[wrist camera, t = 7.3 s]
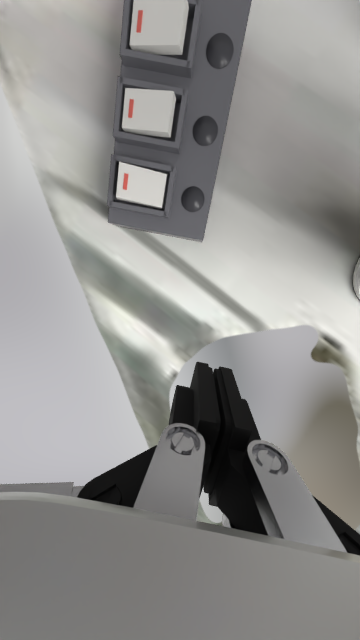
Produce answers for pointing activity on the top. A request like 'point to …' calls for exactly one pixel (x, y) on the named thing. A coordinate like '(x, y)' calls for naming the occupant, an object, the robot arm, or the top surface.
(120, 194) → the rocker
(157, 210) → the rocker switch panel
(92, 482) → the robot arm
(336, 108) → the top surface
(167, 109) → the middle rocker
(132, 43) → the rocker
